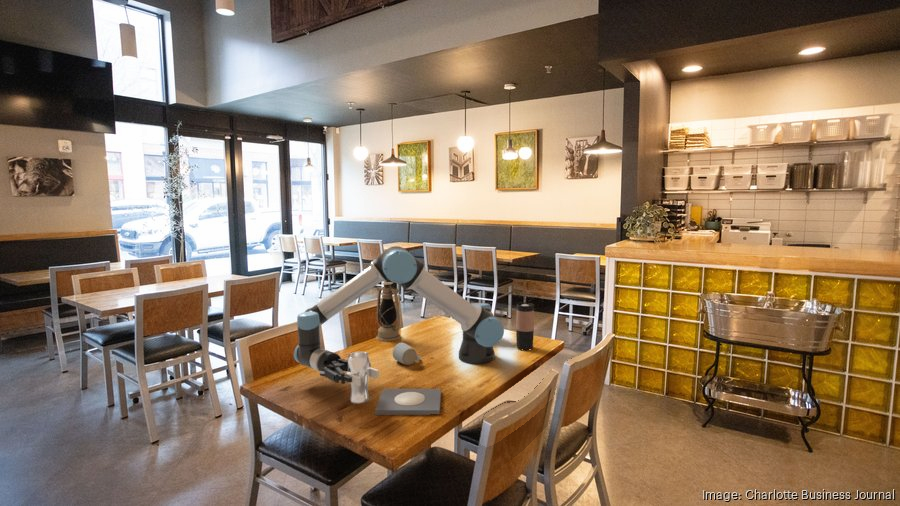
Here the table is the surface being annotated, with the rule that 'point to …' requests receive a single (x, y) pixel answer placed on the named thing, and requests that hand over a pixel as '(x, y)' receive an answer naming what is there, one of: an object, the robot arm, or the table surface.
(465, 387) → the table surface
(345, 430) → the table surface
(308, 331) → the robot arm
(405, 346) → the ceramic mug
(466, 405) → the table surface
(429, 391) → the charcoal board
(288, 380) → the table surface
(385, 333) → the lantern
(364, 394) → the beer glass
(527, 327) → the travel mug
